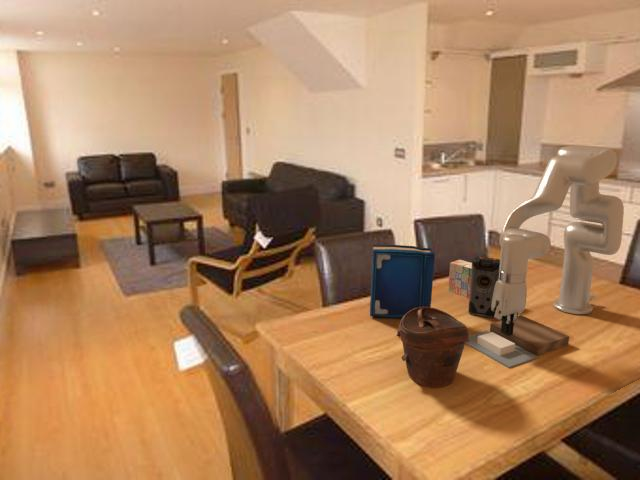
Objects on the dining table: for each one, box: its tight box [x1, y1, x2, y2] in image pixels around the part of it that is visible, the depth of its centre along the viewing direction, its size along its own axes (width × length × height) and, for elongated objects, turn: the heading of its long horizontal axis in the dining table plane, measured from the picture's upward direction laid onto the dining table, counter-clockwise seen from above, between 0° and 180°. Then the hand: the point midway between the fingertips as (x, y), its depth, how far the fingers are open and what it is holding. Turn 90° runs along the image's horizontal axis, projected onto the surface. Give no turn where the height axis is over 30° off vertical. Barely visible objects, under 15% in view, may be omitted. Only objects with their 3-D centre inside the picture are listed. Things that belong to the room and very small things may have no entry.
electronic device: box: [468, 256, 500, 319], centre depth 171 cm, size 9×6×20 cm, turn 62°
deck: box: [489, 314, 570, 357], centre depth 154 cm, size 14×18×3 cm
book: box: [369, 244, 436, 319], centre depth 169 cm, size 22×7×25 cm, turn 84°
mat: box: [465, 330, 539, 369], centre depth 148 cm, size 12×20×1 cm, turn 28°
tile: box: [477, 331, 515, 356], centre depth 148 cm, size 6×9×2 cm, turn 27°
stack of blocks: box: [448, 259, 472, 299], centre depth 187 cm, size 21×6×12 cm, turn 36°
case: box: [396, 307, 470, 388], centre depth 132 cm, size 18×20×18 cm
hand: (506, 333), depth 149 cm, fingers closed
